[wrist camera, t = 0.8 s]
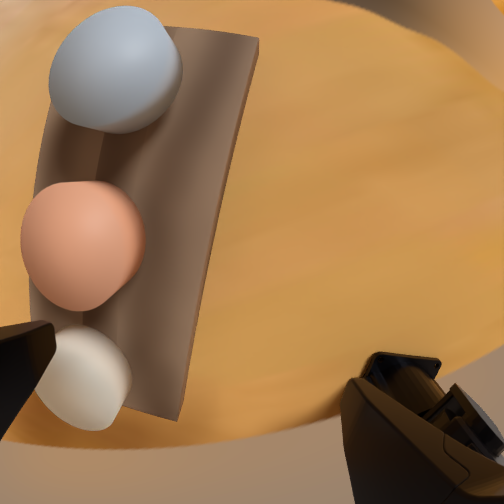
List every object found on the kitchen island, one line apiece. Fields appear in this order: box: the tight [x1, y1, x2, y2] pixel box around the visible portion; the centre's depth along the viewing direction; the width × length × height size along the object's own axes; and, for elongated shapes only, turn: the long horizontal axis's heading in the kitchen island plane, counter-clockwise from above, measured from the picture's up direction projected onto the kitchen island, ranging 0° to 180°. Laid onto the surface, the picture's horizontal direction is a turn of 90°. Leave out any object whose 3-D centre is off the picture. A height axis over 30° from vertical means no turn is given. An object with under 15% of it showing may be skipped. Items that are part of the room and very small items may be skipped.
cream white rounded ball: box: [35, 325, 132, 431], centre depth 17 cm, size 6×6×6 cm
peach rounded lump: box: [21, 180, 146, 311], centre depth 15 cm, size 6×6×6 cm
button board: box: [29, 26, 259, 422], centre depth 18 cm, size 12×25×2 cm, turn 167°
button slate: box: [49, 6, 183, 134], centre depth 14 cm, size 6×6×6 cm
